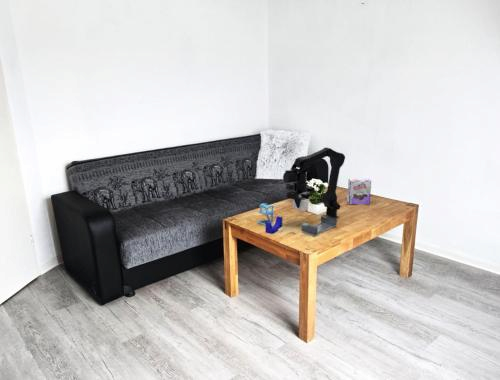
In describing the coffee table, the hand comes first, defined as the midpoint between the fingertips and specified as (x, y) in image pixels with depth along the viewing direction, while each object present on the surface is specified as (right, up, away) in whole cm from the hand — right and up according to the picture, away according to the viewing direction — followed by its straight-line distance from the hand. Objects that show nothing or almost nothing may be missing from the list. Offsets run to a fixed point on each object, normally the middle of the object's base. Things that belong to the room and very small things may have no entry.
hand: (300, 207), depth 230 cm
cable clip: (-15, -13, -3) cm, 20 cm away
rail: (+10, -12, -4) cm, 16 cm away
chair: (-19, -10, +7) cm, 22 cm away
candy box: (+43, +1, +38) cm, 57 cm away
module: (0, -1, 0) cm, 1 cm away
